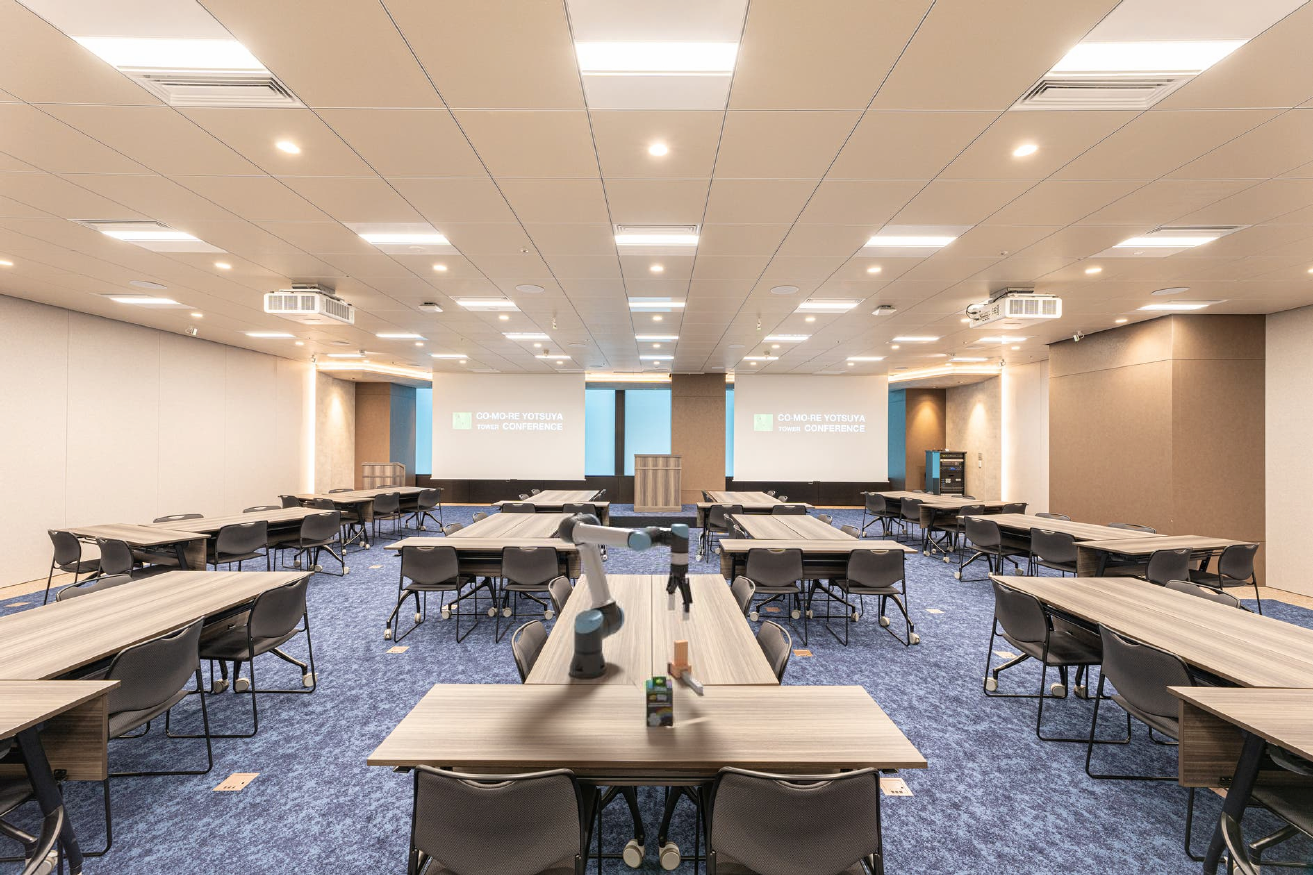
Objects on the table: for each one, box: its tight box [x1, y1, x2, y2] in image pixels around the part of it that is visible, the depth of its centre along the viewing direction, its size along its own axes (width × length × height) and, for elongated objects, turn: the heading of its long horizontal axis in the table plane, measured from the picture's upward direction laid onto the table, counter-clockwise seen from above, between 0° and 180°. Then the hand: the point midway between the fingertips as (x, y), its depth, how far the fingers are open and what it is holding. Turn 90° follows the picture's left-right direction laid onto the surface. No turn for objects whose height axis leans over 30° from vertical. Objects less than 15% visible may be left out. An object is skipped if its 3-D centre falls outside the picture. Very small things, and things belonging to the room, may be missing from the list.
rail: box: [666, 661, 704, 695], centre depth 194 cm, size 25×12×4 cm, turn 22°
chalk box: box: [645, 675, 674, 727], centre depth 167 cm, size 9×9×15 cm
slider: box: [669, 639, 692, 679], centre depth 200 cm, size 6×7×13 cm
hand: (678, 615), depth 201 cm, fingers open, 13 cm apart
